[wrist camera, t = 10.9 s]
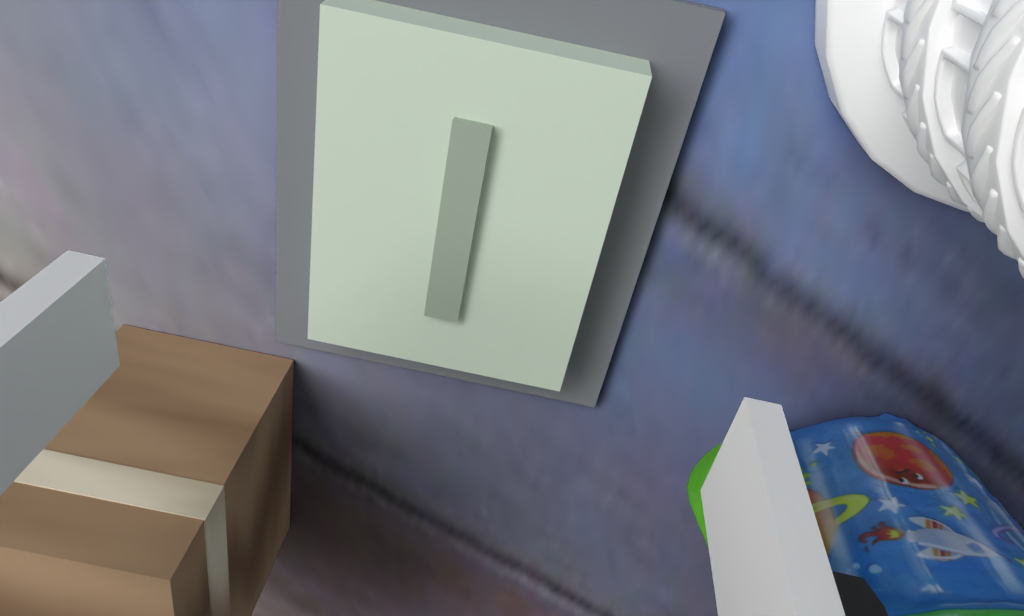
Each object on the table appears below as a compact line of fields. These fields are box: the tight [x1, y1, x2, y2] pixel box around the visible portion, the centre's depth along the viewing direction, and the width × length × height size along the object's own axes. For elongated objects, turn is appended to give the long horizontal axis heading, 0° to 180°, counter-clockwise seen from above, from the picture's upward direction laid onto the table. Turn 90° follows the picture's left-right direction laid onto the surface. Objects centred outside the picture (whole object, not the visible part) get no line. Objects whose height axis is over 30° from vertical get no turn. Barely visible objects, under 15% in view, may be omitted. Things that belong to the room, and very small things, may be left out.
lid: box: [308, 0, 652, 392], centre depth 21 cm, size 10×8×2 cm
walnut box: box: [0, 325, 294, 616], centre depth 25 cm, size 9×6×9 cm
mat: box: [276, 0, 726, 407], centre depth 22 cm, size 13×11×1 cm
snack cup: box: [687, 413, 1024, 616], centre depth 22 cm, size 16×10×10 cm
